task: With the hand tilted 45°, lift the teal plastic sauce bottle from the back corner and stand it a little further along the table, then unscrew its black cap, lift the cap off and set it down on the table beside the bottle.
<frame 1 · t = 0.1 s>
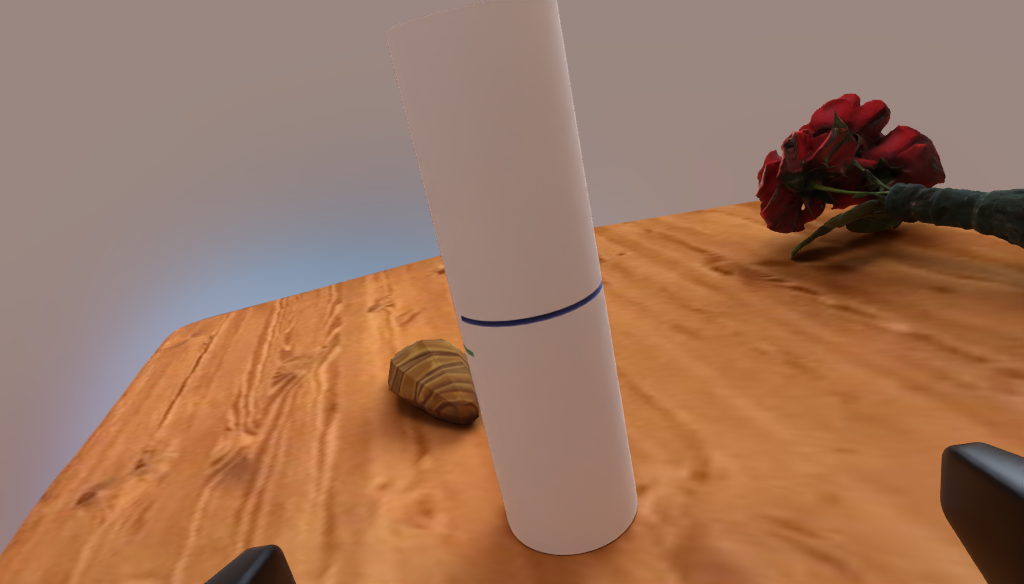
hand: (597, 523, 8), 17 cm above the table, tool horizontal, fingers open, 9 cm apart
croissant: (437, 398, 48), on the table
cylindrical container: (572, 508, 33), on the table
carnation: (953, 260, 53), on the table
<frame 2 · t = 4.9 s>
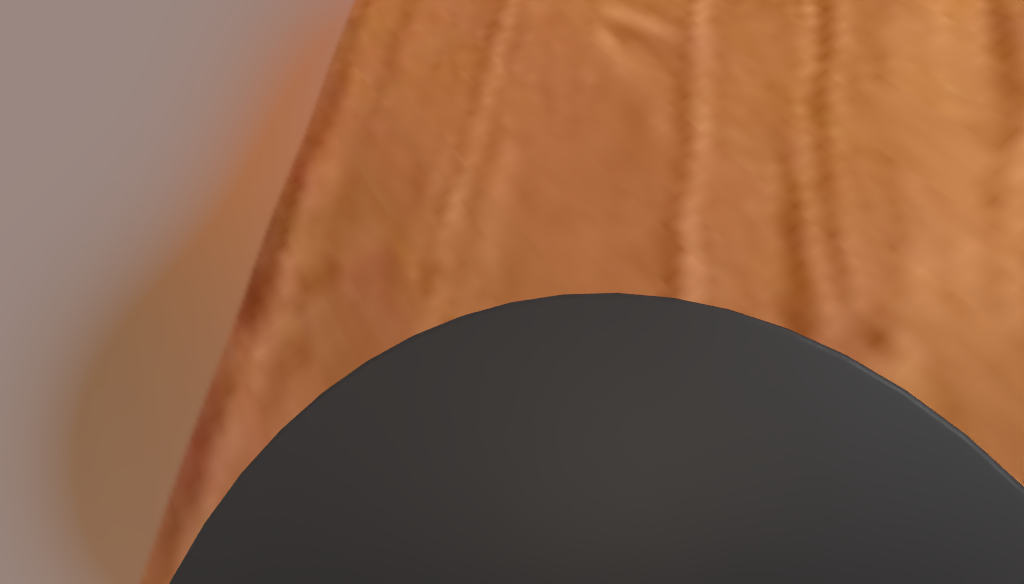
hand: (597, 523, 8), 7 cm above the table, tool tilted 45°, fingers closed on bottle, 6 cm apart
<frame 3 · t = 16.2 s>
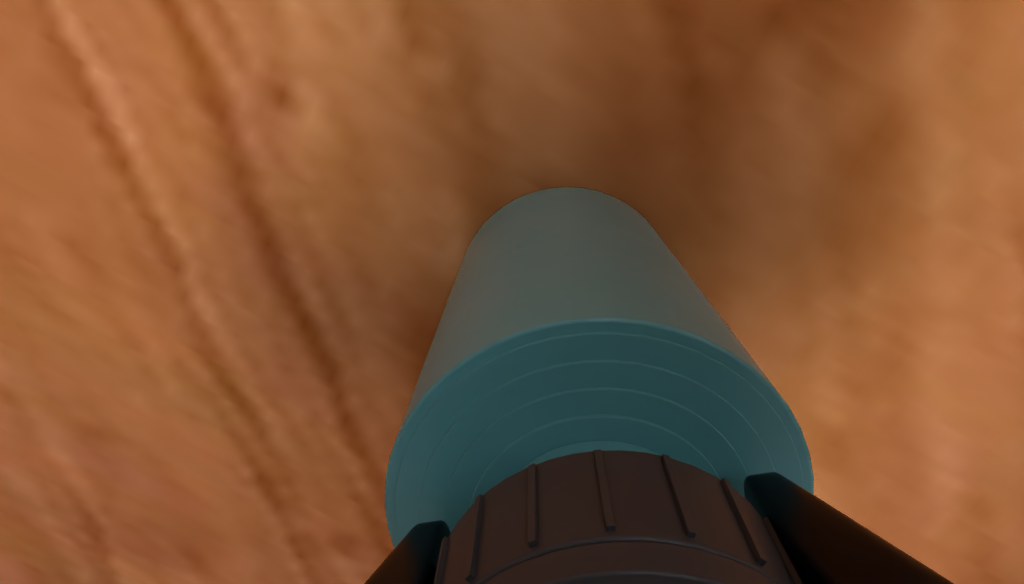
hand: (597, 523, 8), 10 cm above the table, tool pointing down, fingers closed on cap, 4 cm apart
bottle: (564, 293, 18), on the table
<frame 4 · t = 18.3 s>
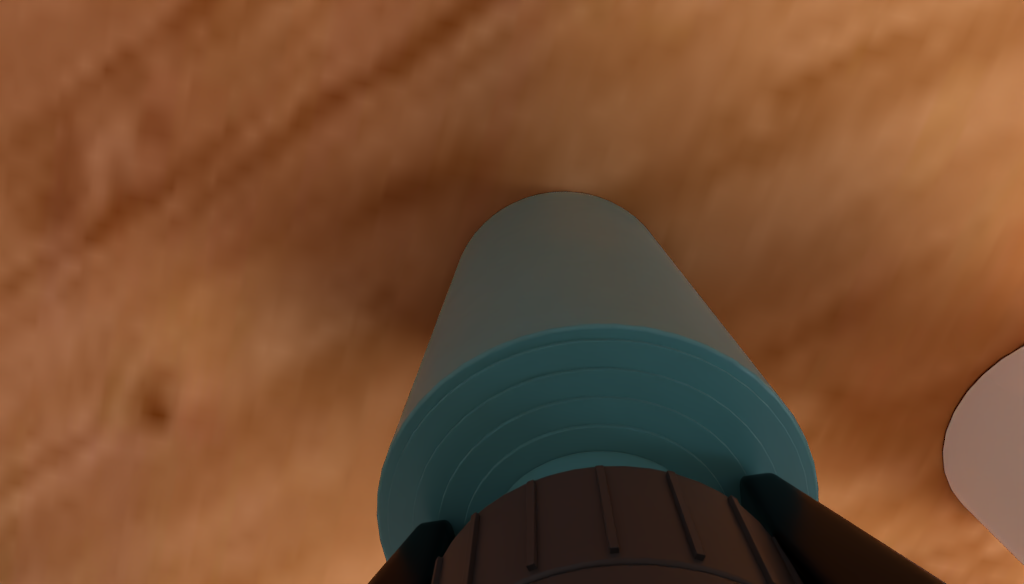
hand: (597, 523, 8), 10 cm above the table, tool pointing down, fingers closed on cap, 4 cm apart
bottle: (560, 299, 17), on the table, touching gripper
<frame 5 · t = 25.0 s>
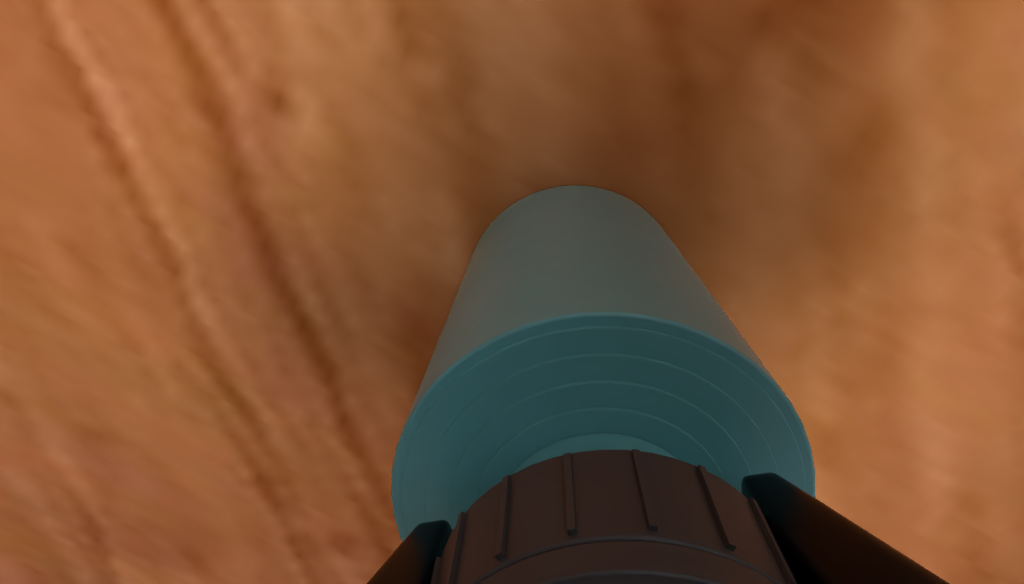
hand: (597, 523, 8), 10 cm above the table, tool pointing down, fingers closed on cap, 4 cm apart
bottle: (572, 290, 18), on the table
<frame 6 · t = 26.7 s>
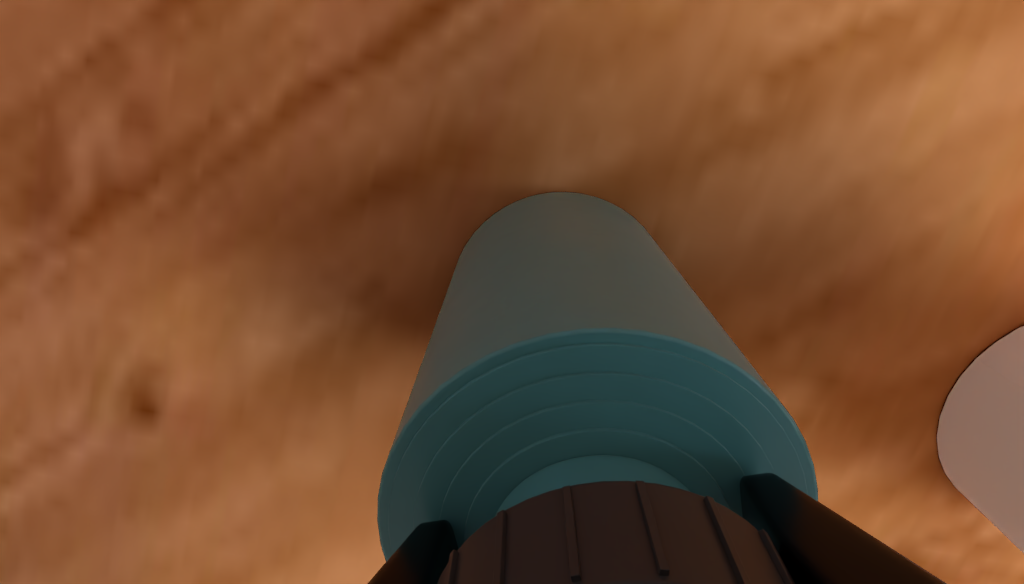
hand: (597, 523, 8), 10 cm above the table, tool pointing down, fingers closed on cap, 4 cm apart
bottle: (559, 299, 17), on the table, touching gripper
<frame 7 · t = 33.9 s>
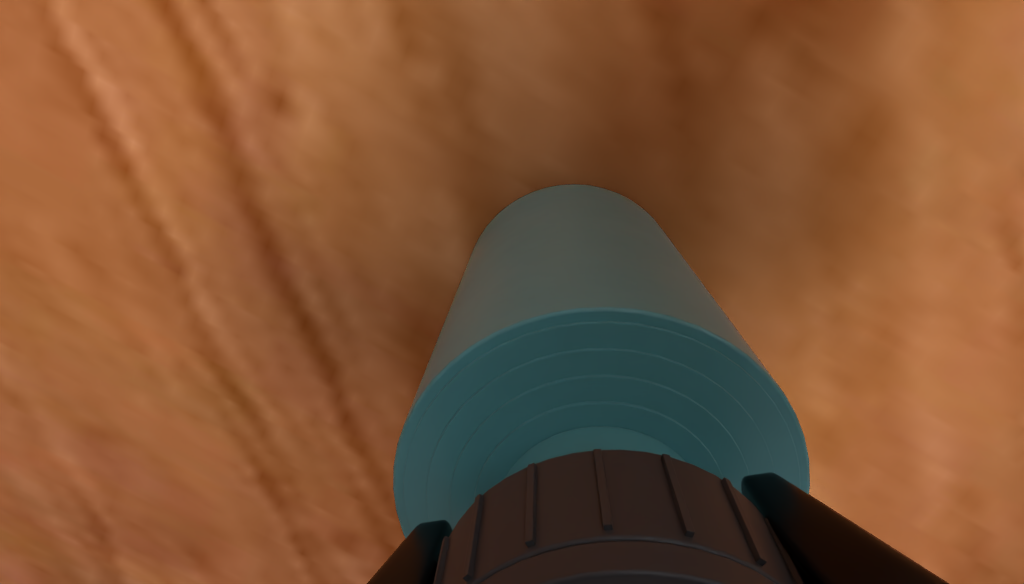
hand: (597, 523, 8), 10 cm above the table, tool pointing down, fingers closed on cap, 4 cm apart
bottle: (571, 288, 18), on the table
when the fingers open (0 cm above the table, at t = 41.5 s): cap stays where it is, point 1 cm above the table.
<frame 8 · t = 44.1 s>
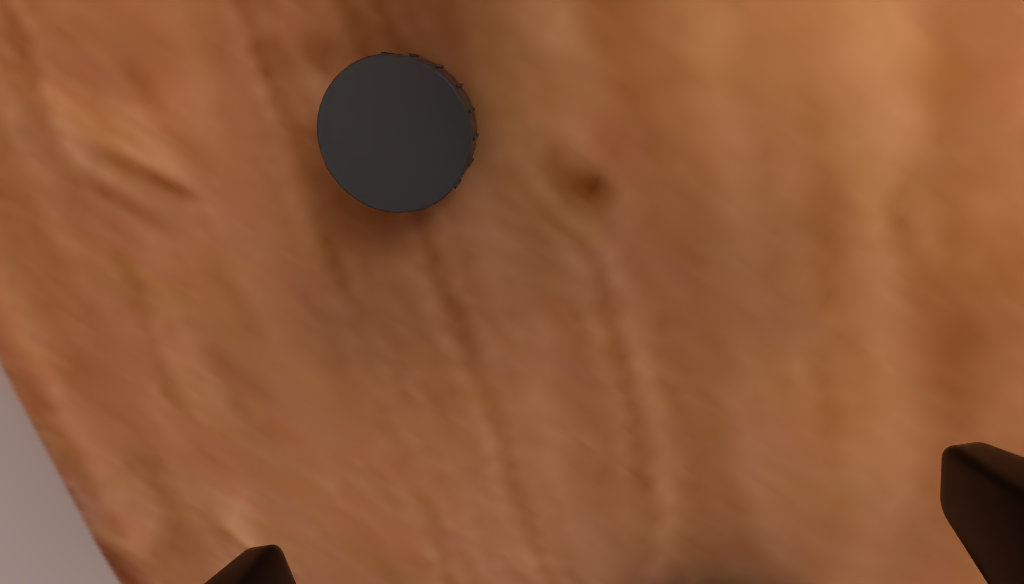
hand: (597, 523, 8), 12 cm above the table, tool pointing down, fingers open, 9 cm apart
cap: (396, 135, 17), point 1 cm above the table, off its thread
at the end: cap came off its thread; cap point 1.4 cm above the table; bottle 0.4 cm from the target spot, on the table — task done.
